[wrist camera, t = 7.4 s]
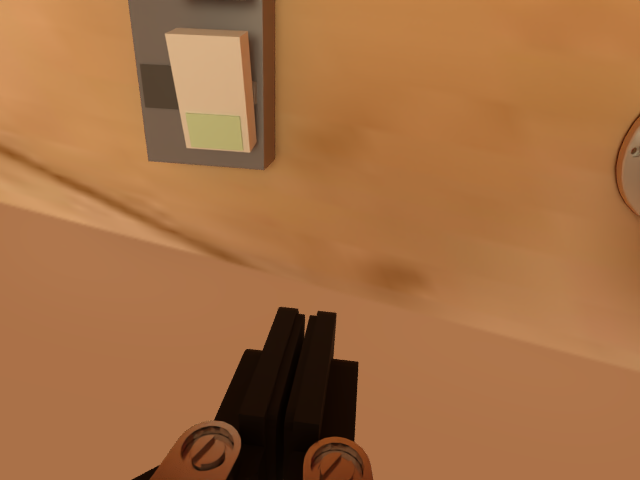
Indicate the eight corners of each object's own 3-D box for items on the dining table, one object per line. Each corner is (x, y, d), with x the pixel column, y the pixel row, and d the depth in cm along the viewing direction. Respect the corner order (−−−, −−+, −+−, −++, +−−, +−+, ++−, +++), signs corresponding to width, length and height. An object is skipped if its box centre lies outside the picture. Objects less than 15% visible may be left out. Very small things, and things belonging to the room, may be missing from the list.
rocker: (247, 30, 28) (238, 37, 26) (256, 141, 33) (249, 153, 31) (177, 27, 28) (163, 34, 27) (196, 137, 33) (185, 148, 32)
